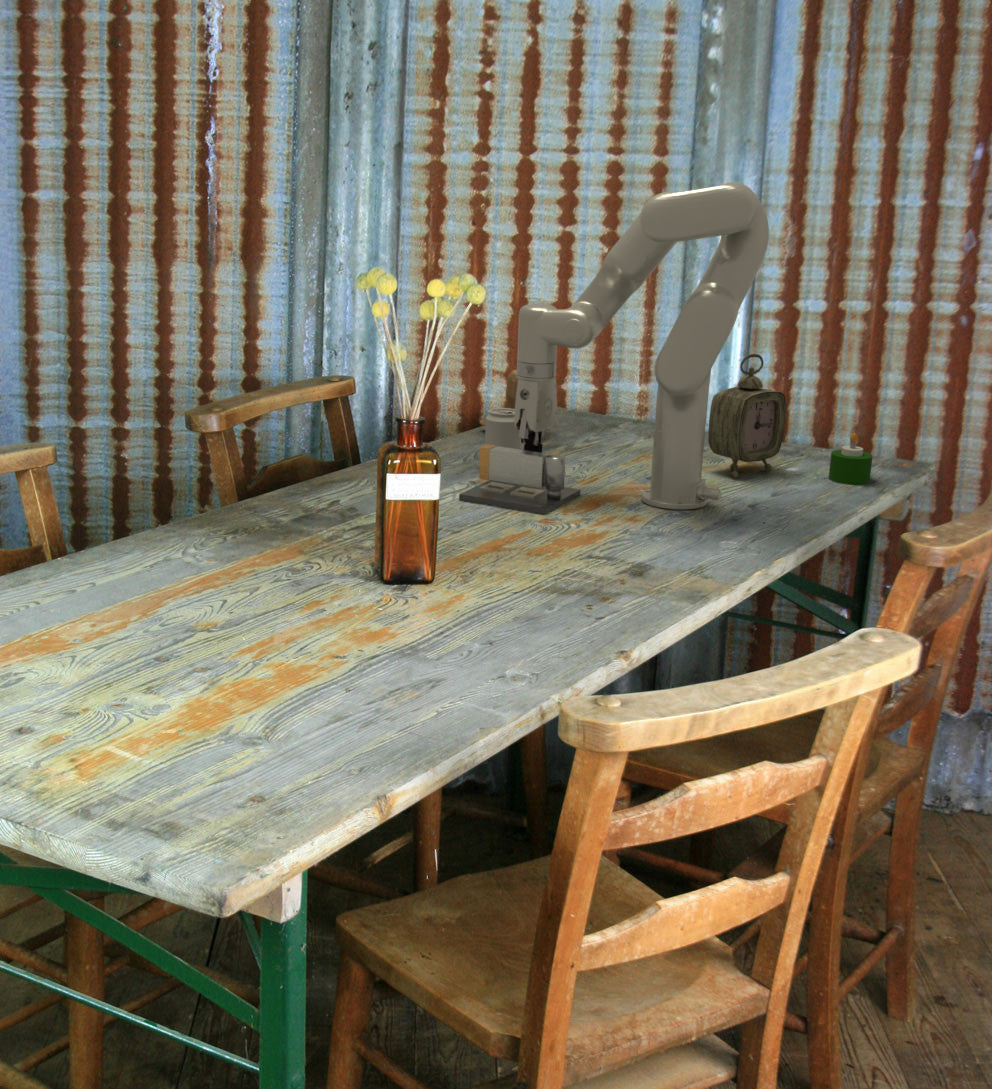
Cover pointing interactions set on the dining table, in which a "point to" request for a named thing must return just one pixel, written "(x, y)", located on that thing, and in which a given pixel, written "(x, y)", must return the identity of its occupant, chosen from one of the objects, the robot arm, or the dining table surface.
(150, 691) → the dining table surface
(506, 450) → the grey block tan end
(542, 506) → the dark grey flat slab
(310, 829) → the dining table surface
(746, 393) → the tabletop clock
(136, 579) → the dining table surface
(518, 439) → the can
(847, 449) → the candle
